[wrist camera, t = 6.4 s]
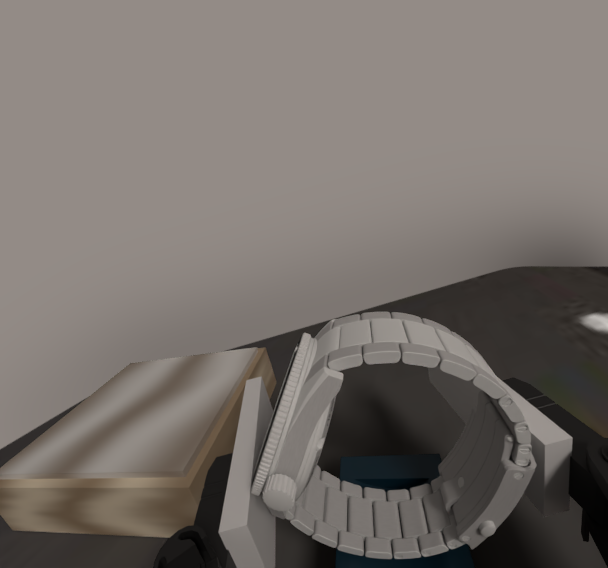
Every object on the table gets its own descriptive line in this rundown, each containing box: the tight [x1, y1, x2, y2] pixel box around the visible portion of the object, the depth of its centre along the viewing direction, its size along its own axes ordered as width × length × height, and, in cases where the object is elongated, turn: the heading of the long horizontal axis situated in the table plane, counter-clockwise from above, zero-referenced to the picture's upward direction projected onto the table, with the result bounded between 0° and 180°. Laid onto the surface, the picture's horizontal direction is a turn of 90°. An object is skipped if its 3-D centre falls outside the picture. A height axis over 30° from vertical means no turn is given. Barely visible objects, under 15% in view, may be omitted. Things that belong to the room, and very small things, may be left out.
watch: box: [251, 312, 537, 568], centre depth 10 cm, size 6×8×11 cm
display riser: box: [0, 347, 277, 538], centre depth 21 cm, size 14×12×4 cm
